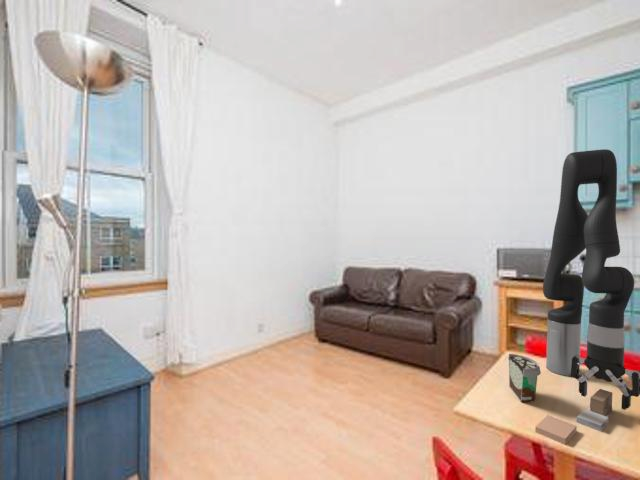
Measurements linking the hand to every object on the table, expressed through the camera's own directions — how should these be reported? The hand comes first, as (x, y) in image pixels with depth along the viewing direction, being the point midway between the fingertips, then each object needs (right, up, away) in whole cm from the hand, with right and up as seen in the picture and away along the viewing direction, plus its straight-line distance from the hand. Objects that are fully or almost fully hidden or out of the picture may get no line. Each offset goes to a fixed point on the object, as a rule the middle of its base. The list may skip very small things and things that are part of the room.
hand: (603, 401), depth 89 cm
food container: (-15, -2, +9) cm, 18 cm away
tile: (-16, -2, -6) cm, 17 cm away
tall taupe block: (-4, -3, -3) cm, 5 cm away
